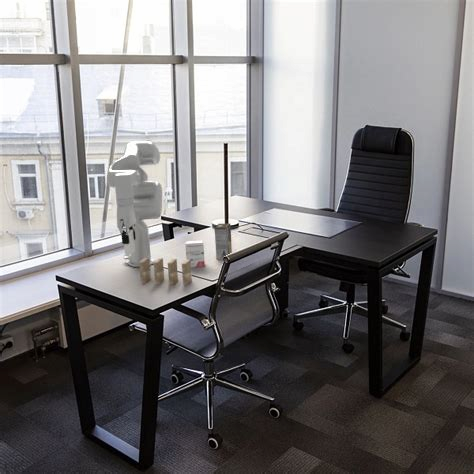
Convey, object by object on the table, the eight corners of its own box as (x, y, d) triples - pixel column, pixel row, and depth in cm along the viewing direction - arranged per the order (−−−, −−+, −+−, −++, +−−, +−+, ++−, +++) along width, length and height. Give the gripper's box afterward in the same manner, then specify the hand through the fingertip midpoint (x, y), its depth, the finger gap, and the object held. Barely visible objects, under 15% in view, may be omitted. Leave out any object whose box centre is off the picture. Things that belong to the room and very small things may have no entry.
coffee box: (219, 253, 301) (218, 223, 296) (232, 254, 299) (230, 223, 295) (216, 259, 292) (214, 227, 288) (228, 259, 291) (227, 228, 286)
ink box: (204, 263, 287) (203, 239, 284) (204, 266, 282) (203, 242, 279) (186, 264, 286) (185, 241, 283) (186, 267, 281) (185, 244, 278)
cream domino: (125, 255, 261) (123, 233, 258) (130, 251, 266) (128, 229, 264) (129, 255, 260) (127, 233, 258) (134, 251, 266) (132, 229, 263)
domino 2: (155, 284, 261) (153, 262, 259) (160, 279, 267) (158, 258, 264) (159, 284, 261) (157, 262, 258) (164, 279, 266) (162, 258, 264)
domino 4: (183, 285, 258) (181, 263, 256) (187, 280, 264) (186, 259, 261) (187, 285, 258) (186, 263, 255) (191, 280, 263) (190, 259, 261)
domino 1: (141, 283, 263) (139, 261, 260) (146, 278, 269) (144, 257, 266) (145, 283, 262) (143, 262, 260) (150, 279, 268) (149, 257, 265)
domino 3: (169, 284, 260) (167, 263, 257) (173, 280, 265) (172, 258, 263) (173, 284, 259) (171, 263, 257) (178, 280, 265) (176, 258, 262)
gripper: (125, 197, 266) (129, 236, 271) (108, 205, 250) (112, 246, 255) (141, 197, 264) (144, 236, 269) (124, 206, 248) (128, 247, 253)
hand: (129, 241), depth 262 cm, fingers closed on cream domino, 5 cm apart
